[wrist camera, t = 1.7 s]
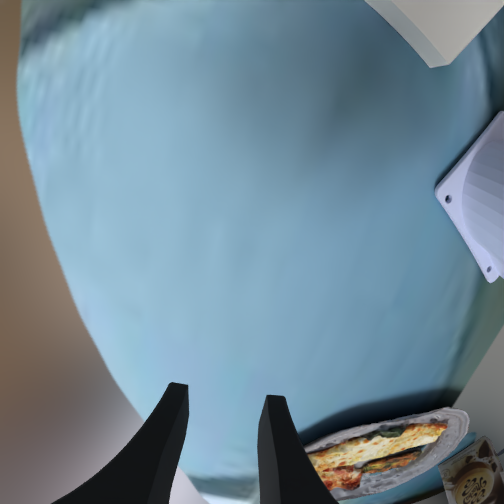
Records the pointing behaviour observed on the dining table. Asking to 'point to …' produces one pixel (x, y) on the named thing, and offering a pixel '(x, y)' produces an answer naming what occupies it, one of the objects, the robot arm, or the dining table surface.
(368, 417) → the dining table surface
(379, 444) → the food plate
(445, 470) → the coffee box
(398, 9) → the button panel
